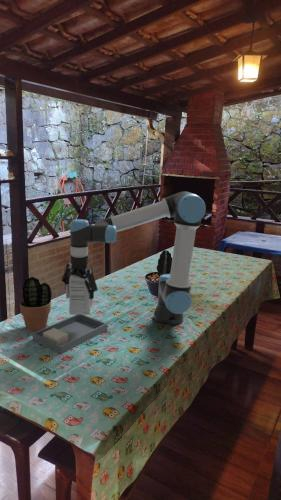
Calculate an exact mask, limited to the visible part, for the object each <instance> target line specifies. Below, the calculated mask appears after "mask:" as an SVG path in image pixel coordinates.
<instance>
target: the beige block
mask: <svg viewBox="0 0 281 500" xmlns="http://www.w3.org/2000/svg"><path fill="white" fill-rule="evenodd" d="M43 337H44V338H47V339H49V340H51V341H53V342H55V343H57V344H59V345H63V344H65V343H67V342H68V334H67V333H65V332H62V331H60V330H58V329H56V328H53V329H50V330H48V331H46V332H43Z"/></svg>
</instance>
